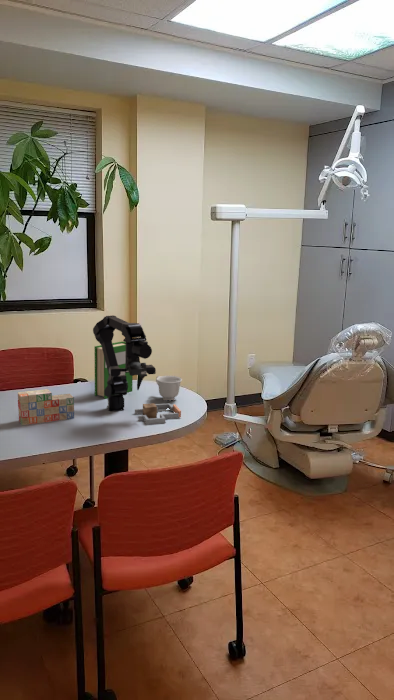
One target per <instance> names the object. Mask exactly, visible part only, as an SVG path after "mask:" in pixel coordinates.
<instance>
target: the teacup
mask: <svg viewBox="0 0 394 700" xmlns="http://www.w3.org/2000/svg"><path fill="white" fill-rule="evenodd" d="M182 381H183V378H181V377H180V376H176V375H161V376H160V375H157V376H156V378H155V382H156V385H158V393H159V396H161V397H162V400H163V401H165V400H173V401H175V400H176V397H177V396H178V395H179V393H180V386H181V382H182ZM174 399H175V400H174Z"/></svg>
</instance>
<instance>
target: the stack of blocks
mask: <svg viewBox="0 0 394 700" xmlns="http://www.w3.org/2000/svg"><path fill="white" fill-rule="evenodd" d="M74 399H75V398H74V396H73V395H72V394H71V393H63V394H62V393H61V394H54V395H53V393H52V391H50V390H49V389H48V388H45V389H36V390H29V391H27V390H26V391H19V392H17V408H18V409H17V410H18V422H19V423H20V424H21V426H26V425H35V424H42V423H49V422H55V421H56V422H58V421H64V420H73V419H75V402H74V401H75V400H74Z"/></svg>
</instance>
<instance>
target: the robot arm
mask: <svg viewBox="0 0 394 700" xmlns="http://www.w3.org/2000/svg"><path fill="white" fill-rule="evenodd" d="M115 330H117V331H119V332H121V335H122V336H123V337H124V338H123V342H126V351H125V368H119V366H118V363H117V359H116V355H115V352H114V348H113V344H112V343H113V339H114V336H115V334H114V331H115ZM92 332H93V335H94V338H95V340H96V342H98V343H99V344H100V345H101V346H102V350H103V354H104V358H105V362H106V365H107V369H108V373H109V377H108V380H107V385H108V386H107V387H106V388H105V390H104V394H105V396H107V397H108V398H107V406H106V407H107V409H108V411H109V412H115V411H124V410H125V398H124V396H126V395H127V394H128V393H127V390H128V382H127V380H126V375H125V373H129V374H130V375H131V376H137V381H136V382H137V383H136V390H137V391H139V390H140V388H141V385H142V382H143V380H144V378H145V377H148V375H155V374H156V373H157V371H156V368H155V366H153V365H152V364H147V362H141V361H140V359H144V360H147V359H148V358H150V357H151V355H152V353H153V349H152V347H151V346H150V344H149V343H148V340H147V336H146V333H145V331H144V328H143V327H142V324H141V323H140V322H139V323H137V322H129V321H126V320H124V319H121V318H119V317H117V316H116V315H106V316H103V318H102V319H101V320H99V321H97V322H96V324H95V325H94V326H93V328H92Z"/></svg>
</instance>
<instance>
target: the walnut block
mask: <svg viewBox="0 0 394 700" xmlns="http://www.w3.org/2000/svg"><path fill="white" fill-rule="evenodd" d="M155 404H156V403H154V402H153V403H142V409H143V414H142V415H146V416H147V417H148V419H152V418H158V417H157V416H158V413H157V406H156V405H155Z"/></svg>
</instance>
